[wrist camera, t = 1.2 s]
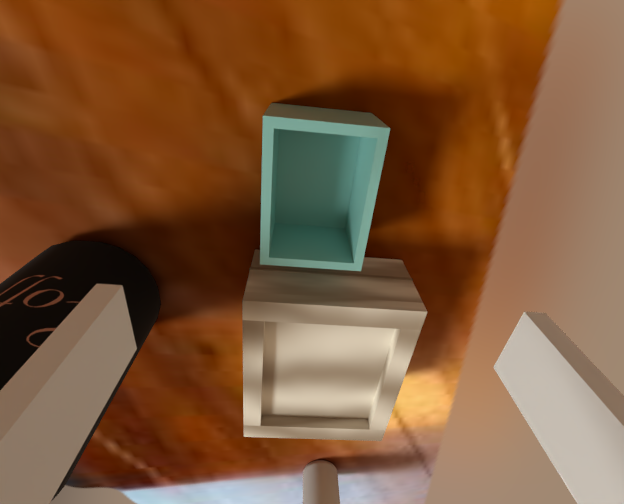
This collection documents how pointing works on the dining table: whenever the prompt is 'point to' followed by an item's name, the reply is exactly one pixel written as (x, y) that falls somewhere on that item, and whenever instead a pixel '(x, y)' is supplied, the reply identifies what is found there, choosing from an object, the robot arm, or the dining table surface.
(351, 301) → the beige crate
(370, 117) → the teal crate
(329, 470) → the beverage can
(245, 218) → the dining table surface
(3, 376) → the coffee jar
